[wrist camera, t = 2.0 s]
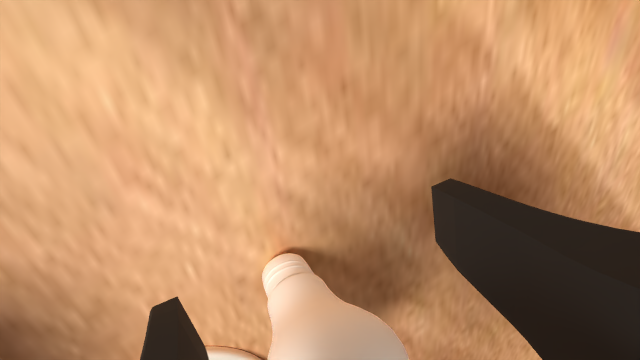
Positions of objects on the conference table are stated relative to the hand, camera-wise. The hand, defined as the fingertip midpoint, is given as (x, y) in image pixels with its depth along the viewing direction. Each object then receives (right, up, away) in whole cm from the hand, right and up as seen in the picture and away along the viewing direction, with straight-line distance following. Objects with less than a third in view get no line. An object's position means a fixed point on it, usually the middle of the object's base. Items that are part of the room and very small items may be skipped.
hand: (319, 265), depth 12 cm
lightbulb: (-2, -2, +13) cm, 14 cm away
